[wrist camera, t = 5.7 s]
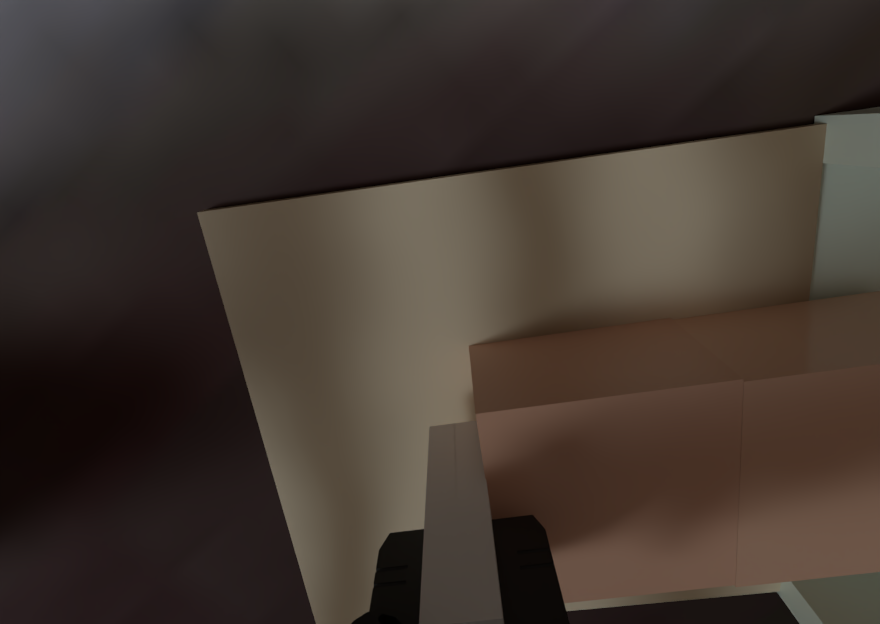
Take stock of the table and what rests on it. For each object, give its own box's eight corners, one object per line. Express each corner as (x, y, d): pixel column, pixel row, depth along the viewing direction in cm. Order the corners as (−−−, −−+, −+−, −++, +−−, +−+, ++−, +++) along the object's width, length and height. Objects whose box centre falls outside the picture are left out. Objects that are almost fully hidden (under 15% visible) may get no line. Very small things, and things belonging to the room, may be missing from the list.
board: (322, 622, 20) (318, 633, 20) (205, 210, 15) (196, 212, 14) (771, 580, 19) (779, 591, 19) (813, 123, 14) (827, 123, 13)
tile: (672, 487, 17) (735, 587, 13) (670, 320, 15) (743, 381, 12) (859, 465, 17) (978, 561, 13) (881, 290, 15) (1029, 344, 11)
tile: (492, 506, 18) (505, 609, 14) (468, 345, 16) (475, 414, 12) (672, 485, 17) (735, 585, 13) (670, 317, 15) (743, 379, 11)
